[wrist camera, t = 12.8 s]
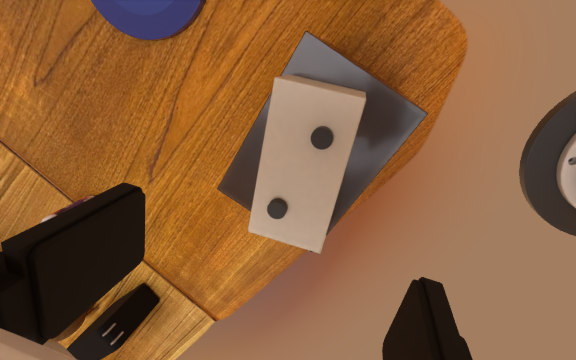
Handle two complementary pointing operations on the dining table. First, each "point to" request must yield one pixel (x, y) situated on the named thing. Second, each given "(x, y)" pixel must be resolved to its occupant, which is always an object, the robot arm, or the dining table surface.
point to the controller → (304, 159)
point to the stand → (370, 134)
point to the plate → (150, 16)
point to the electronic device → (114, 325)
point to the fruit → (70, 329)
